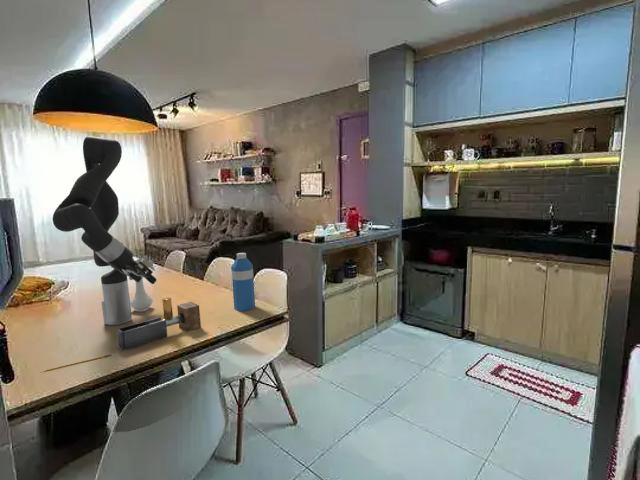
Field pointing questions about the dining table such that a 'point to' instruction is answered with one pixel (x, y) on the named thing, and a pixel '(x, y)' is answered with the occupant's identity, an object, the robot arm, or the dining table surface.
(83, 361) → the pencil
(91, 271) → the dining table surface
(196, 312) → the socket block
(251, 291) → the water bottle
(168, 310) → the tube
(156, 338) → the sleeve
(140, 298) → the flower vase
